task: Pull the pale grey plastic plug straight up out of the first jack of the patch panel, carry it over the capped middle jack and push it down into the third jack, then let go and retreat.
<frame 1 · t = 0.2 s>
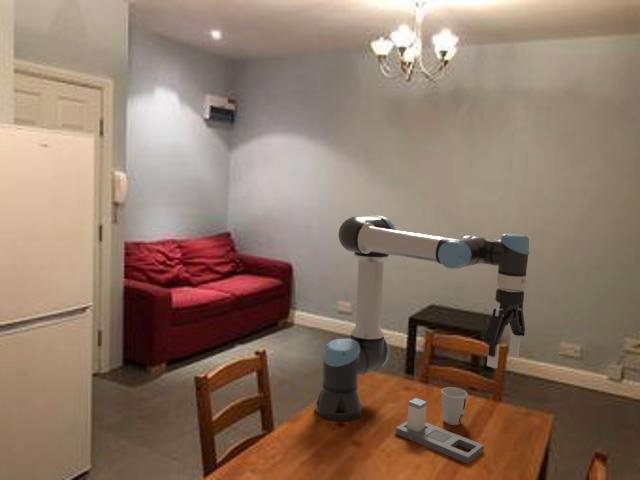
hand: (503, 361, 157), 28 cm above the table, fingers open, 13 cm apart
cup: (451, 421, 179), on the table
plug: (415, 433, 170), resting in panel
panel: (438, 442, 165), on the table
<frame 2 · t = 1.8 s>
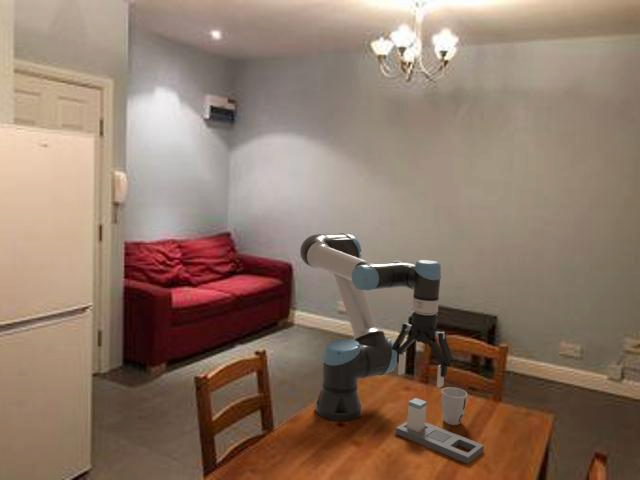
hand: (420, 380, 168), 17 cm above the table, fingers open, 13 cm apart
nothing on the table moved.
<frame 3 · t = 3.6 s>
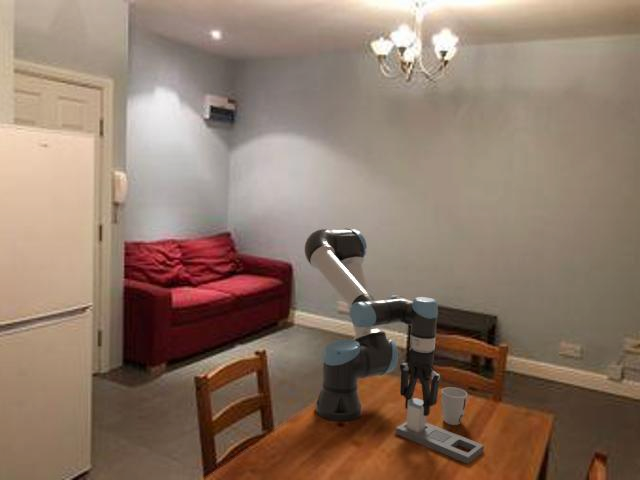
hand: (416, 421, 169), 4 cm above the table, fingers closed on plug, 4 cm apart
plug: (415, 433, 170), resting in panel, touching gripper
everything else where it was.
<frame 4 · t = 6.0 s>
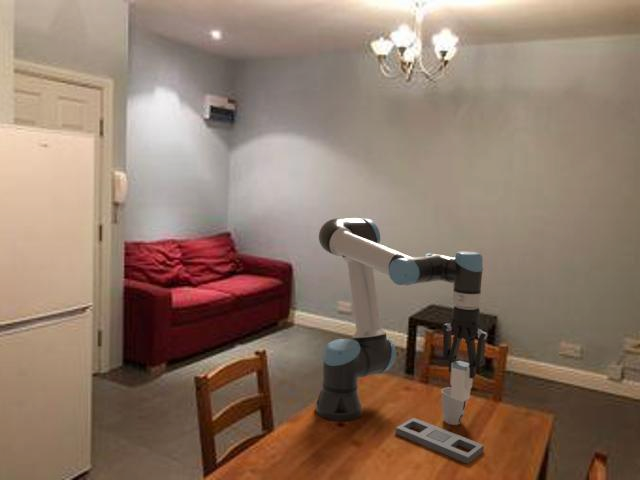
hand: (461, 385, 158), 20 cm above the table, fingers closed on plug, 4 cm apart
plug: (460, 397, 159), point 16 cm above the table, touching gripper
everything else where it was.
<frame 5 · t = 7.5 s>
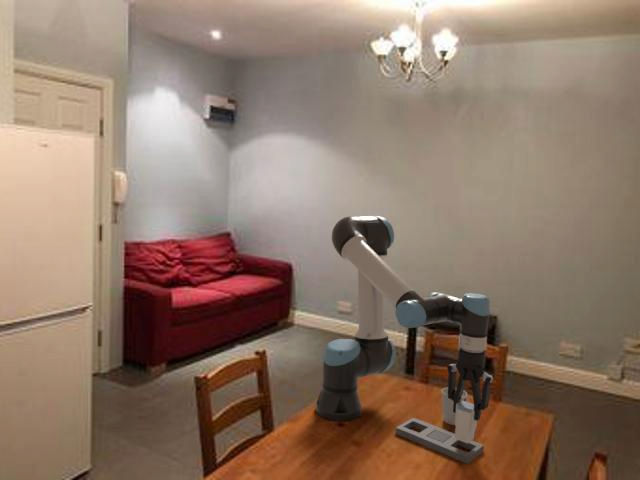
hand: (465, 426, 158), 8 cm above the table, fingers closed on plug, 4 cm apart
plug: (464, 438, 159), point 4 cm above the table, touching gripper
everything else where it was.
when the fingers open (5 cm above the table, at t = 8.4 s): plug drops 1 cm, resting in panel.
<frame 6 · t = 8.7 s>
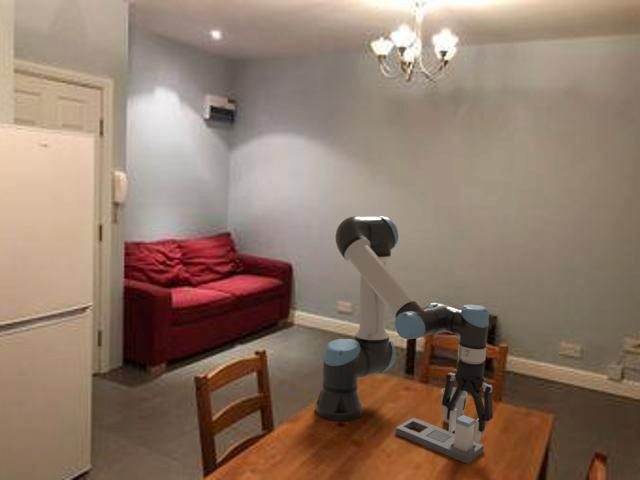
hand: (464, 435, 159), 5 cm above the table, fingers open, 7 cm apart
plug: (462, 452, 160), resting in panel
everything else where it was.
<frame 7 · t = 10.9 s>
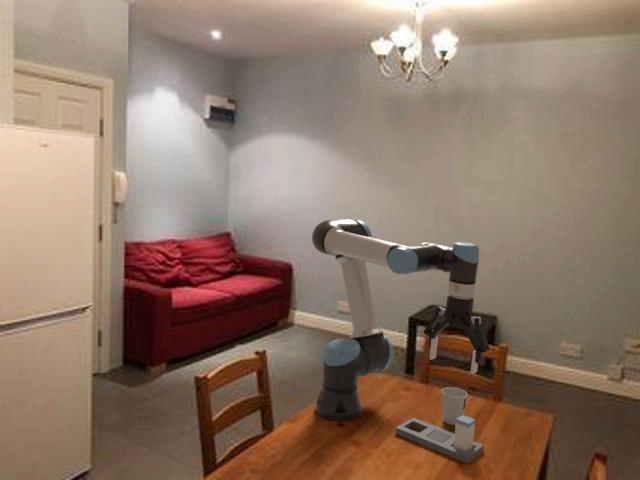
hand: (452, 365, 163), 24 cm above the table, fingers open, 13 cm apart
nothing on the table moved.
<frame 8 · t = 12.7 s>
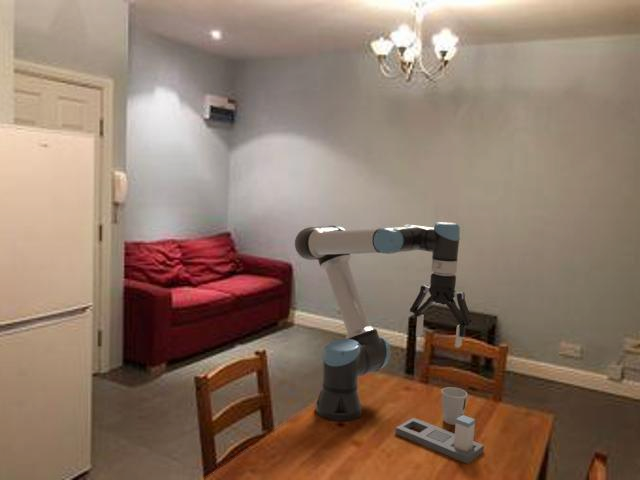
hand: (438, 341, 169), 29 cm above the table, fingers open, 13 cm apart
nothing on the table moved.
at the end: plug 0.0 cm from the target spot on the panel, point 0.0 cm above the panel's base; plug tilted 0°; the gripper is holding nothing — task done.
